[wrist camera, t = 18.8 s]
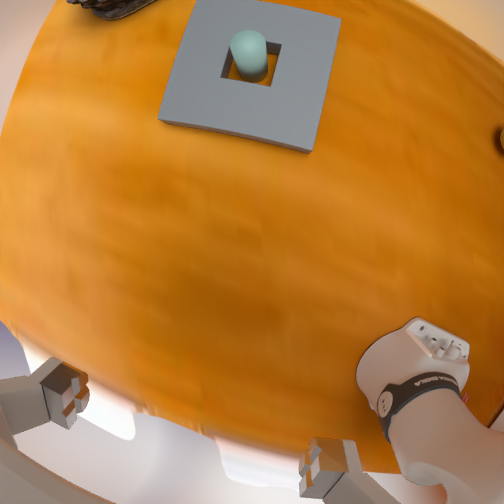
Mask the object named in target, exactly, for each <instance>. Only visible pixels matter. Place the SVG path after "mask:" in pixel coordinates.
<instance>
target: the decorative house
mask: <svg viewBox="0 0 504 504" xmlns="http://www.w3.org/2000/svg"><path fill="white" fill-rule="evenodd" d="M66 1H67V2H68V3H70V4H71V3H72V4H74V5H75V4H80V3H81V6H82V8H85V9H89V8H92V11H93V13H94V15H96V16H98V17H100V18H103V19H109V20H112V19H117V18H121V17H124V16H126V15H128V14H130V13H133V12H134V11H136V10H138V9H140V8H142V7H143V6H145V5H147V4H148V3H150V2H153V1H154V0H66Z"/></svg>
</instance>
